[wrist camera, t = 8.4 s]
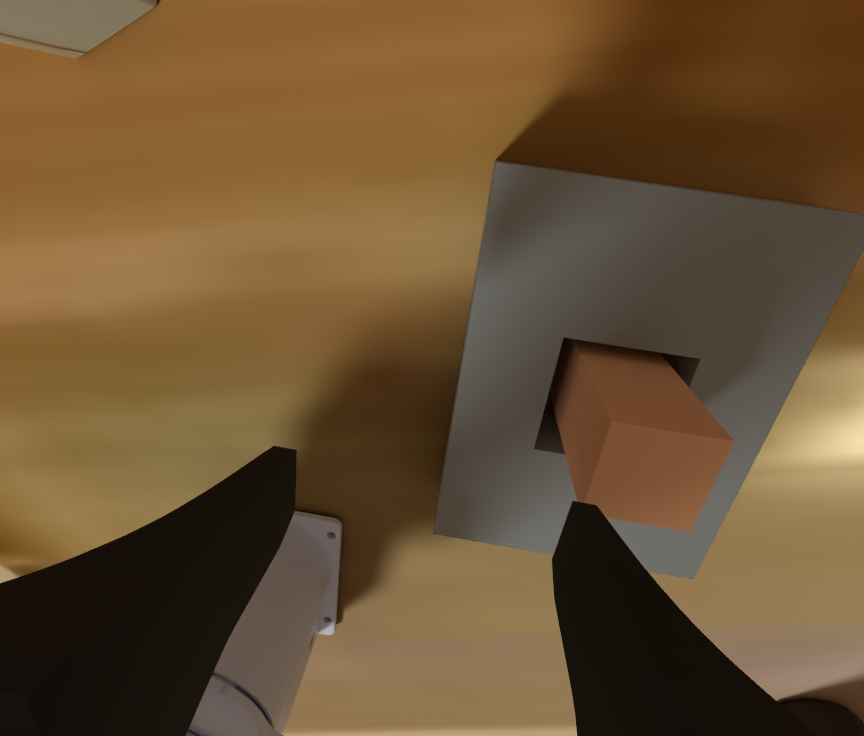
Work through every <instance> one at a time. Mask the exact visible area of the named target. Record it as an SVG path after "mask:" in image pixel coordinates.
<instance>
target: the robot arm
mask: <svg viewBox="0 0 864 736" xmlns="http://www.w3.org/2000/svg"><path fill="white" fill-rule="evenodd" d="M296 454H297V450H293V449H288V448H282V447H277V446H273V447H272V448H270V449H269V450H267V451H265V452H264V453H262V454H261V455H259V456H258V457H257V458H255V459H254V460H252V461H251V462H249V463H248V464H246V465H245V466H244V467H242V468H241V469H239V470H238V471H236V472H235V473H233V474H232V475H230V476H229V477H227V478H226V479H224V480H223V481H221V482H220V483H218V484H217V485H215V486H214V487H212V488H210V489H209V490H207V491H206V492H204V493H203V494H201V495H199V496H197V497H196V498H194V499H192V500H191V501H189V502H187V503H186V504H184V505H182V506H181V507H179V508H177V509H176V510H174V511H172V512H170V513H169V514H167V515H165V516H163V517H161V518H159V519H157V520H155V521H154V522H152V523H150V524H148V525H146V526H143V527H141V528H139V529H137V530H135V531H133V532H131V533H129V534H127V535H125V536H123V537H121V538H118V539H116V540H114V541H111V542H109V543H107V544H104V545H102V546H100V547H97V548H95V549H93V550H90V551H88V552H86V553H83V554H81V555H78V556H76V557H74V558H71V559H68V560H66V561H63V562H60V563H58V564H55V565H52V566H50V567H47V568H44V569H42V570H39V571H36V572H33V573H30V574H27V575H24V576H21V577H18V578H15V579H12V580H9V581H6V582H3V583H0V736H284V735H282V732H283V730H284V728H285V725H286V723H287V720H288V717H289V714H290V711H291V708H292V706H293V703H294V700H295V697H296V694H297V691H298V688H299V686H300V683H301V680H302V677H303V674H304V671H305V668H306V665H307V663H308V660H309V657H310V654H311V651H312V648H313V645H314V643H315V640H316V637H317V634H318V633H319V634H324V635H332V634H333V633H334V632H335V629H336V620H337V603H338V587H339V570H340V553H341V537H342V523H341V522H340V521H339V520H338V519H336V518H332V517H327V516H321V515H315V514H310V513H304V512H298V511H295V489H296ZM330 532H332V533H334V534H331V533H330ZM552 567H553V584H554V598H555V604H556V610H557V615H558V620H559V626H560V631H561V637H562V642H563V647H564V652H565V658H566V663H567V668H568V673H569V679H570V684H571V689H572V695H573V702H574V708H575V716H576V726H577V736H819V735H818V734H817V733H815V732H814V731H813V730H812V729H810V728H809V727H808V726H807V725H805V724H804V723H803V722H801V721H800V720H799V719H798V718H796V717H795V716H794V715H793V714H791V713H790V712H789V711H788V710H787V709H785V708H784V707H783V706H782V705H781V704H779V703H778V702H777V701H776V700H775V699H773V698H772V697H771V696H770V695H769V694H767V693H766V692H765V691H764V690H763V689H762V688H761V687H760V686H758V685H757V684H756V683H755V682H754V681H753V680H752V679H751V678H749V677H748V676H747V675H746V674H745V673H744V672H743V671H742V670H740V669H739V668H738V667H737V666H736V665H735V664H734V663H733V662H732V661H731V660H730V659H729V658H727V657H726V656H725V655H724V654H723V653H722V652H721V651H720V650H719V649H718V648H717V647H716V646H715V645H714V644H713V643H712V642H711V641H710V640H709V639H708V638H707V637H706V636H705V635H704V634H703V633H702V632H701V631H700V630H699V629H698V628H697V627H696V626H695V625H694V624H693V623H692V622H691V621H690V620H689V619H688V617H687V616H686V615H685V614H684V613H683V612H682V611H681V610H680V609H679V608H678V606H677V605H676V604H675V603H674V602H673V601H672V600H671V599H670V597H669V596H668V595H667V594H666V593H665V592H664V591H663V589H662V588H661V587H660V586H659V585H658V584H657V582H656V581H655V580H654V579H653V578H652V576H651V575H650V574H649V573H648V571H647V570H646V569H645V568H644V567H643V565H642V564H641V563H640V561H639V560H638V559H637V558H636V556H635V555H634V554H633V553H632V551H631V550H630V549H629V547H628V546H627V545H626V543H625V542H624V541H623V539H622V538H621V537H620V536H619V534H618V533H617V532H616V530H615V529H614V528H613V526H612V525H611V524H610V522H609V521H608V520H607V518H606V517H605V516H604V514H603V513H602V512H601V510H600V509H599V508H598V507H597V505H593V504H588V503H582V502H577V501H572V504H571V506H570V509H569V512H568V515H567V518H566V521H565V524H564V526H563V529H562V532H561V535H560V538H559V541H558V544H557V546H556V549H555V552H554V555H553V558H552Z"/></svg>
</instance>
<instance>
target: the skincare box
mask: <svg viewBox="0 0 864 736" xmlns="http://www.w3.org/2000/svg"><path fill="white" fill-rule="evenodd" d="M156 4H157V0H0V42H1V43H6V44H11V45H15V46H20V47H25V48H30V49H34V50H39V51H43V52H48V53H52V54H57V55H62V56H67V57H71V58H78V57H80V56H82V55H83V54H85V53H86V52H88V51H90V50H91V49H93V48H94V47H96V46H98V45H99V44H101V43H102V42H104V41H105V40H107V39H108V38H110V37H111V36H113V35H114V34H116V33H117V32H119V31H120V30H122V29H123V28H125V27H126V26H128V25H129V24H131V23H132V22H134V21H135V20H137V19H138V18H139V17H141V16H142V15H144V14H145V13H147V12H148V11H150V10H151V9H153V8H154V7H155V5H156Z"/></svg>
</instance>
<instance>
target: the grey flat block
mask: <svg viewBox="0 0 864 736" xmlns="http://www.w3.org/2000/svg"><path fill="white" fill-rule="evenodd" d="M863 249H864V214H860V213H855V212H849V211H843V210H837V209H831V208H826V207H820V206H814V205H807V204H800V203H793V202H786V201H779V200H772V199H765V198H758V197H750V196H743V195H736V194H729V193H722V192H715V191H708V190H701V189H694V188H687V187H680V186H673V185H666V184H659V183H652V182H645V181H638V180H631V179H624V178H617V177H610V176H603V175H596V174H589V173H582V172H575V171H568V170H561V169H554V168H547V167H540V166H533V165H526V164H519V163H512V162H504V161H497V160H495V164H494V170H493V176H492V182H491V188H490V194H489V200H488V205H487V211H486V217H485V223H484V229H483V235H482V241H481V247H480V253H479V258H478V264H477V270H476V276H475V282H474V288H473V294H472V300H471V306H470V312H469V317H468V323H467V329H466V335H465V341H464V347H463V353H462V359H461V365H460V370H459V376H458V382H457V388H456V394H455V400H454V406H453V412H452V418H451V423H450V429H449V435H448V441H447V447H446V453H445V459H444V465H443V471H442V477H441V482H440V488H439V495H438V502H437V510H436V517H435V524H434V531H433V534H438V535H444V536H449V537H455V538H461V539H466V540H472V541H478V542H483V543H489V544H495V545H501V546H506V547H512V548H518V549H523V550H529V551H535V552H540V553H546V554H552V555H554V552H555V549H556V546H557V544H558V541H559V538H560V535H561V532H562V529H563V526H564V524H565V521H566V518H567V515H568V512H569V509H570V506H571V504H572V501H577V498H576V494H575V490H574V486H573V482H572V478H571V474H570V471H569V467H568V463H567V459H566V455H565V451H564V447H563V443H562V439H561V436H560V432H559V428H558V424H557V420H556V416H555V415H552V414H546V413H544V409H545V405H546V401H547V398H548V394H549V390H550V386H551V383H552V379H553V375H554V371H555V368H556V364H557V360H558V356H559V353H560V349H561V345H562V341H563V338H570V339H576V340H583V341H589V342H596V343H602V344H608V345H615V346H621V347H627V348H634V349H640V350H647V351H653V352H659V353H661V355H662V356H663V357H664V359H665V360H666V361H667V362H668V363H669V364H670V366H671V367H672V368H673V369H674V370H675V372H676V373H677V374H678V375H679V376H680V377H681V379H682V380H683V381H684V382H685V383H686V385H687V386H688V387H689V388H690V389H691V390H692V392H693V393H694V394H695V395H696V396H697V398H698V399H699V400H700V401H701V402H702V403H703V405H704V406H705V407H706V408H707V409H708V411H709V412H710V413H711V414H712V415H713V416H714V418H715V419H716V420H717V421H718V422H719V424H720V425H721V426H722V427H723V428H724V429H725V431H726V432H727V433H728V434H729V435H730V437H731V438H732V439H733V440H734V443H733V445H732V447H731V449H730V451H729V453H728V455H727V457H726V459H725V462H724V464H723V466H722V468H721V470H720V472H719V474H718V476H717V478H716V480H715V482H714V484H713V487H712V489H711V491H710V493H709V495H708V497H707V499H706V501H705V503H704V505H703V507H702V510H701V512H700V514H699V516H698V518H697V520H696V522H695V524H694V526H693V528H692V530H691V532H686V531H680V530H674V529H668V528H662V527H657V526H651V525H645V524H639V523H633V522H627V521H621V520H615V519H609V518H607V520H608V521H609V522H610V524H611V525H612V526H613V528H614V529H615V530H616V532H617V533H618V534H619V536H620V537H621V538H622V539H623V541H624V542H625V543H626V545H627V546H628V547H629V549H630V550H631V551H632V553H633V554H634V555H635V556H636V558H637V559H638V560H639V561H640V563H641V564H642V565H643V567H644V568H645V569H646V570H647V571H649V572H654V573H660V574H666V575H671V576H677V577H683V578H688V579H694V577H695V575H696V573H697V571H698V569H699V567H700V565H701V563H702V561H703V559H704V557H705V555H706V553H707V551H708V550H709V548H710V546H711V544H712V542H713V540H714V538H715V536H716V534H717V532H718V530H719V528H720V526H721V524H722V522H723V520H724V519H725V517H726V515H727V513H728V511H729V509H730V507H731V505H732V503H733V501H734V499H735V497H736V495H737V493H738V491H739V489H740V488H741V486H742V484H743V482H744V480H745V478H746V476H747V474H748V472H749V470H750V468H751V466H752V464H753V462H754V460H755V458H756V457H757V455H758V453H759V451H760V449H761V447H762V445H763V443H764V441H765V439H766V437H767V435H768V433H769V431H770V429H771V427H772V426H773V424H774V422H775V420H776V418H777V416H778V414H779V412H780V410H781V408H782V406H783V404H784V402H785V400H786V398H787V396H788V395H789V393H790V391H791V389H792V387H793V385H794V383H795V381H796V379H797V377H798V375H799V373H800V371H801V369H802V367H803V365H804V364H805V362H806V360H807V358H808V356H809V354H810V352H811V350H812V348H813V346H814V344H815V342H816V340H817V338H818V336H819V334H820V333H821V331H822V329H823V327H824V325H825V323H826V321H827V319H828V317H829V315H830V313H831V311H832V309H833V307H834V305H835V303H836V302H837V300H838V298H839V296H840V294H841V292H842V290H843V288H844V286H845V284H846V282H847V280H848V278H849V276H850V274H851V272H852V271H853V269H854V267H855V265H856V263H857V261H858V259H859V257H860V255H861V253H862V251H863Z"/></svg>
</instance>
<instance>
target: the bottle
mask: <svg viewBox="0 0 864 736" xmlns="http://www.w3.org/2000/svg"><path fill="white" fill-rule="evenodd" d="M781 705H782V706H783V707H784V708H785V709H787V710H788V711H789V712H790V713H791V714H793V715H794V716H795V717H796V718H798V719H799V720H800V721H801V722H803V723H804V724H805V725H807V726H808V727H809V728H810V729H812V730H813V731H814V732H815V733H817V734H818V735H819V736H864V723H863V722H862V720H861V719H860V718H859V717H858V716H856V715H855V714H854V713H852V712H851V711H849V710H848V709H847V708H844V707H841V706H838V705H835V704H832V703H830V702H824V701H816V700H800V701H790V702H786V703H782V704H781Z"/></svg>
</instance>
